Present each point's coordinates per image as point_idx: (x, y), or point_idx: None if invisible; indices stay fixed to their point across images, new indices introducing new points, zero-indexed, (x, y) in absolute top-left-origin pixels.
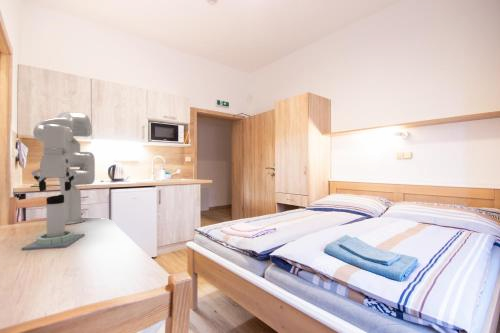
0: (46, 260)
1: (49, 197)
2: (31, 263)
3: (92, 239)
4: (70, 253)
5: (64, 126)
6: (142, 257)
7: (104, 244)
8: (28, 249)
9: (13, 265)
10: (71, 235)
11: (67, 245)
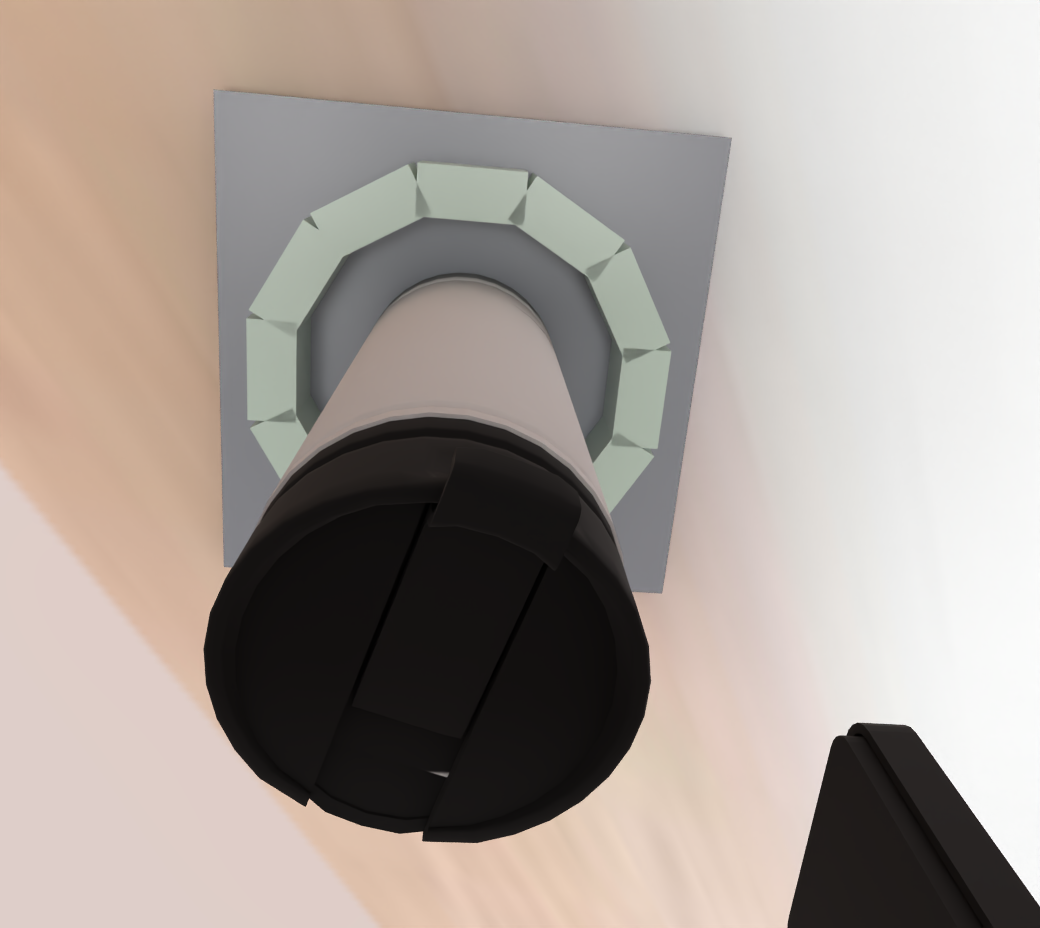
0: (617, 857)
1: (235, 631)
2: (529, 888)
3: (864, 359)
4: (755, 753)
5: None
6: None
7: (1022, 584)
8: None
9: (412, 894)
10: (658, 420)
11: (662, 565)
